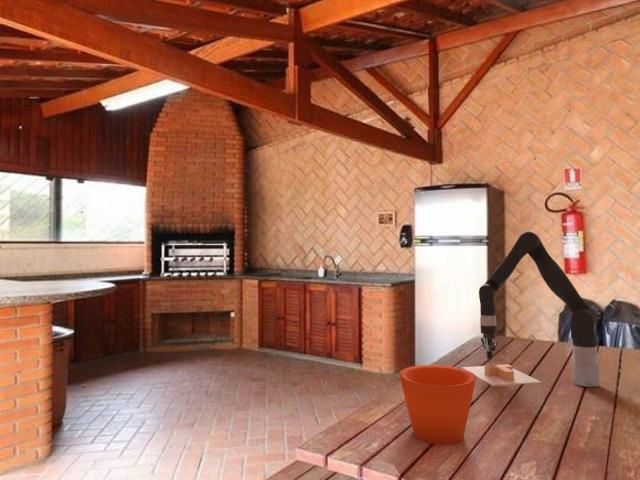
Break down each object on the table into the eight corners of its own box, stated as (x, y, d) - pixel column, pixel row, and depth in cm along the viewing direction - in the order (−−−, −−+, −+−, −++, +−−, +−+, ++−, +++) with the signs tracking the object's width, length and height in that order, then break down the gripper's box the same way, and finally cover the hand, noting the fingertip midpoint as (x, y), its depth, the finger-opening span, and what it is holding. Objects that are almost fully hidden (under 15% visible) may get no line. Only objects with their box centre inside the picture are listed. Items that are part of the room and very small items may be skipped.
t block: (522, 379, 207) (521, 370, 207) (497, 381, 206) (497, 372, 206) (508, 372, 219) (507, 364, 219) (484, 373, 218) (484, 365, 218)
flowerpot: (421, 414, 168) (420, 361, 168) (489, 431, 152) (487, 372, 152) (386, 437, 149) (385, 377, 149) (459, 459, 133) (458, 391, 133)
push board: (541, 383, 204) (541, 381, 204) (491, 386, 201) (491, 384, 201) (505, 365, 233) (505, 364, 234) (461, 368, 230) (461, 367, 230)
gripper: (502, 325, 220) (503, 361, 220) (488, 321, 233) (490, 355, 233) (487, 326, 219) (489, 362, 219) (475, 322, 232) (476, 356, 232)
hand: (489, 358), depth 226 cm, fingers closed
